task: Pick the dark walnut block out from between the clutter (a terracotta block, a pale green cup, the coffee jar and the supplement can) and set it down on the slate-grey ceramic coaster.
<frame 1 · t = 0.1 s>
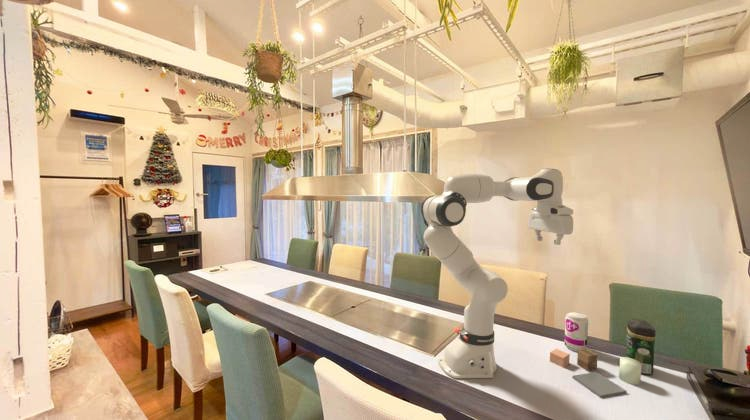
hand: (547, 242, 124), 48 cm above the table, fingers open, 8 cm apart
pale green cup: (629, 380, 111), on the table
walnut block: (586, 367, 119), on the table
terracotta block: (559, 362, 122), on the table
supplement can: (575, 348, 133), on the table
coaster: (598, 385, 108), on the table
coffee jar: (638, 368, 118), on the table
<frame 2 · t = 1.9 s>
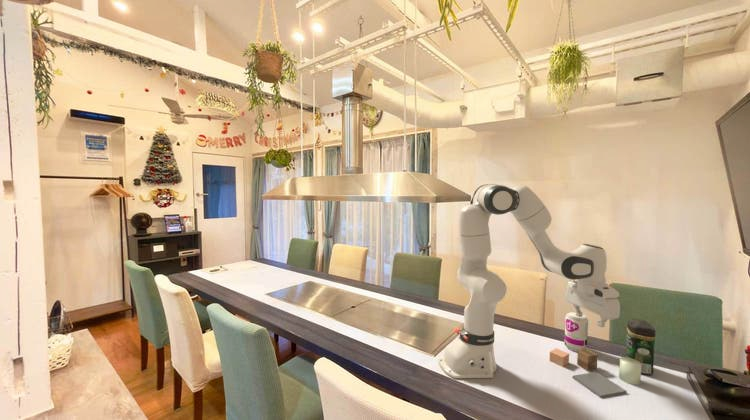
hand: (589, 321, 118), 19 cm above the table, fingers open, 8 cm apart
nothing on the table moved.
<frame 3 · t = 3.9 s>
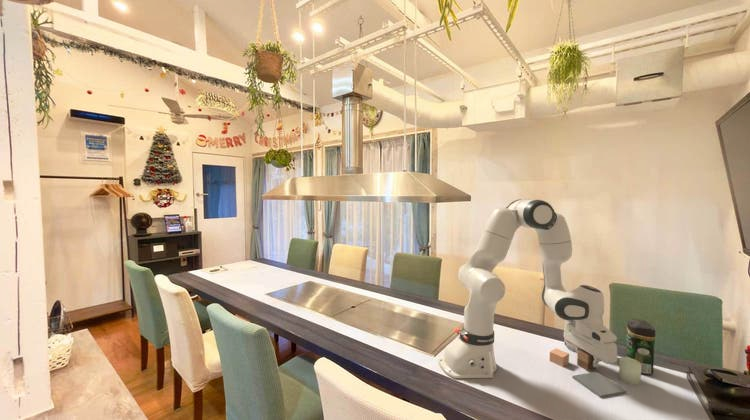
hand: (587, 361, 119), 2 cm above the table, fingers closed on walnut block, 4 cm apart
walnut block: (586, 367, 119), on the table, touching gripper
everything else where it was.
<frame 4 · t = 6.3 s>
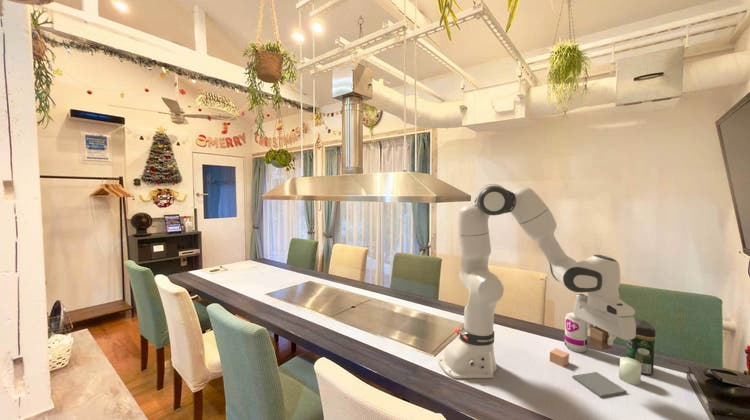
hand: (600, 339, 107), 17 cm above the table, fingers closed on walnut block, 4 cm apart
walnut block: (600, 345, 107), point 14 cm above the table, touching gripper
everything else where it was.
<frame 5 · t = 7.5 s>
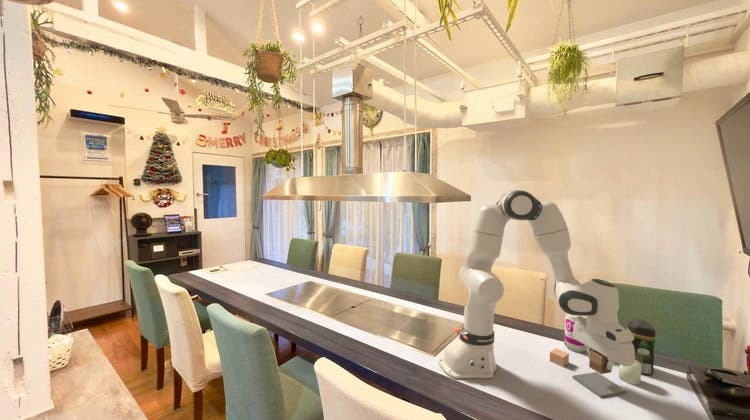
hand: (600, 363, 107), 8 cm above the table, fingers closed on walnut block, 4 cm apart
walnut block: (600, 369, 107), point 6 cm above the table, touching gripper
everything else where it was.
when the fingers open (4 cm above the table, at t = 8.6 s): walnut block stays where it is, resting on coaster.
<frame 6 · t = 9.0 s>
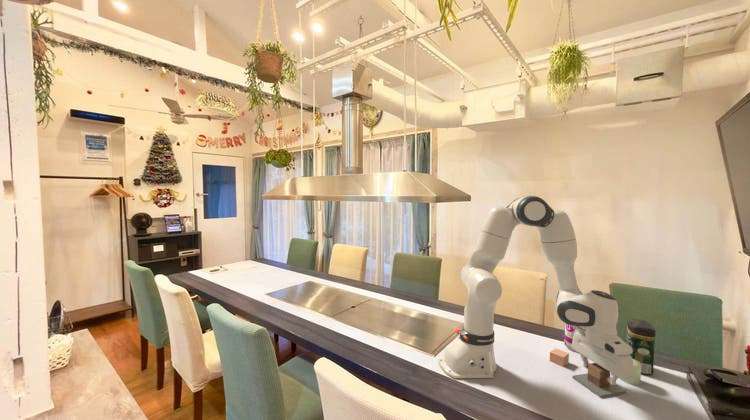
hand: (598, 375, 108), 4 cm above the table, fingers open, 8 cm apart
walnut block: (598, 382, 108), point 1 cm above the table, touching coaster
everything else where it was.
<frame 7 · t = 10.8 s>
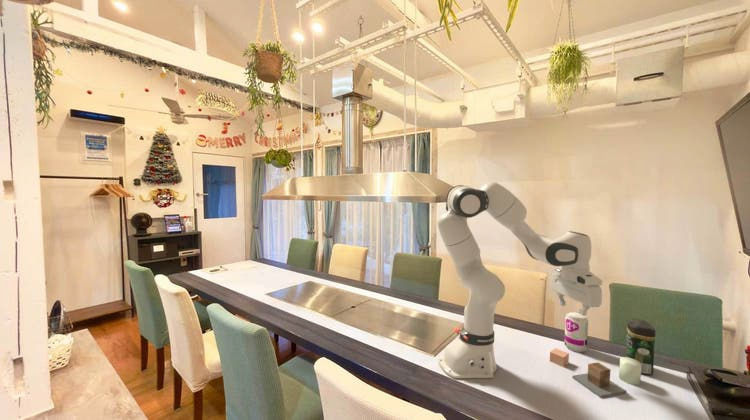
hand: (572, 309, 116), 24 cm above the table, fingers open, 8 cm apart
nothing on the table moved.
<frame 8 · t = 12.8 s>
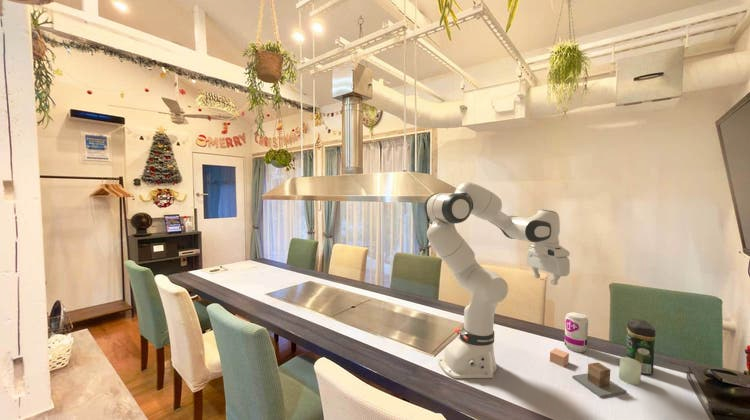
hand: (545, 281, 127), 31 cm above the table, fingers open, 8 cm apart
nothing on the table moved.
at the end: walnut block inside the target area on the coaster (0.0 cm from its centre), point 0.8 cm above the coaster's base; walnut block tilted 0°; the gripper is holding nothing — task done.
